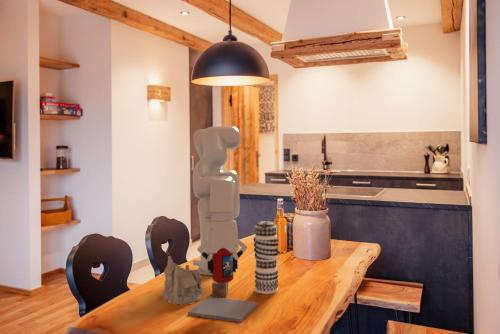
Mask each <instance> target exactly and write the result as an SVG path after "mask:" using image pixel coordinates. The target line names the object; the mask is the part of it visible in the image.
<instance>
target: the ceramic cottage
mask: <svg viewBox="0 0 500 334" xmlns="http://www.w3.org/2000/svg"><path fill="white" fill-rule="evenodd" d="M197 269H198V268H197ZM197 269H191V270H190V265H189V264H187V265H185V268H183V267H181V265H180V264H177V263H176V262H174V261H173V259H172V256H171V255H169V256H167V265H166V267H165V268H164V271H163V273H164V276H165V281H164V289H163V293H162V299H163V298H164V299H165V300H164V299H163V300H164V301H166V300H168V301H170V302H172V303H174V304H180V305H179V306H186V305H185V304H189V305H191V304H190V303H193V302H195V303H197V302H199V301H200V300H201V298H202V296H203V294H204V293H205V291H204V288H202V286H201V285H202V280H201V279H202V276H201V274H199V271H198V270H197ZM203 292H204V293H203ZM198 300H199V301H198ZM168 301H167V302H168ZM196 301H197V302H196ZM170 302H169V303H170ZM172 303H171V304H172ZM174 304H173V305H174ZM193 304H194V303H193Z"/></svg>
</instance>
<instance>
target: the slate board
mask: <svg viewBox="0 0 500 334" xmlns="http://www.w3.org/2000/svg"><path fill="white" fill-rule="evenodd" d="M257 306H258V302H257V301H249V300H241V299H233V298H232V299H231V298H227V297H212V296H210V295H209V296H207V297H206V298H204V299H203V300H202V301H200V302H199V303H197V304H196V305H195V306H193V307H192V308H191V309H189V310H188V311H187V316H191V315H194V316H193V317H198V316H201V317H200V318H205V317H206V318H205V319H212V318H213V320H220V321H227V320H228V321H229V322H234V321H235V323H242V322H243V321H244V320H245V319H246V318H247V317H248V316H249V315H250V313H252V312H253V310H254V309H255V308H256V307H257Z"/></svg>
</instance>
